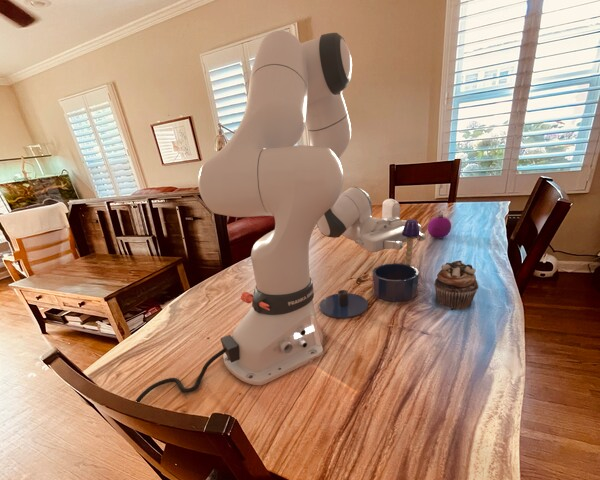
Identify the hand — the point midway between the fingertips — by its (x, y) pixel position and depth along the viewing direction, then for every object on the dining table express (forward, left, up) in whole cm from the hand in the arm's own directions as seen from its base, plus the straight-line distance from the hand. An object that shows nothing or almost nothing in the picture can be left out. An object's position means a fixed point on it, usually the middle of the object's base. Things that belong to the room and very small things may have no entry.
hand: (412, 242), depth 87 cm
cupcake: (-7, -16, -11) cm, 21 cm away
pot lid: (-26, +4, -10) cm, 28 cm away
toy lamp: (0, +1, -11) cm, 11 cm away
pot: (-12, -2, -11) cm, 16 cm away
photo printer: (+40, +33, -11) cm, 53 cm away
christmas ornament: (+37, +10, -11) cm, 40 cm away
